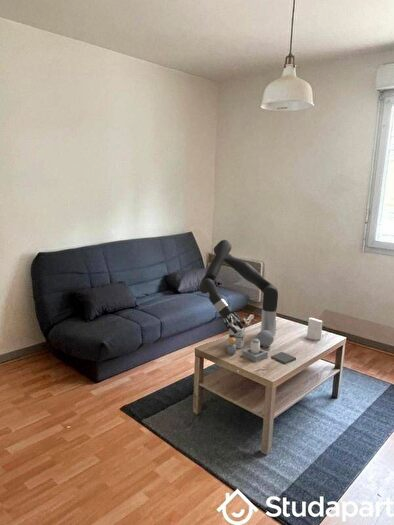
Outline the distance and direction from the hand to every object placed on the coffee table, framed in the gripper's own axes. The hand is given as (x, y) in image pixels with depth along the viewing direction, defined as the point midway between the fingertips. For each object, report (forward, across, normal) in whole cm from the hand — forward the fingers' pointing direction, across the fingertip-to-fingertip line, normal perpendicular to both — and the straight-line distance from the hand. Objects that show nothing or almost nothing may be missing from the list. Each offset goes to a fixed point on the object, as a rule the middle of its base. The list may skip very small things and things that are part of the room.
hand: (239, 330), depth 227 cm
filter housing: (+13, +1, -5) cm, 14 cm away
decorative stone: (+17, -17, -2) cm, 24 cm away
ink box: (+6, -7, -13) cm, 16 cm away
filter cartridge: (+17, 0, -2) cm, 17 cm away
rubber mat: (+27, -6, +9) cm, 29 cm away
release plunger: (+3, +4, -7) cm, 8 cm away
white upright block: (+33, -49, +14) cm, 61 cm away
